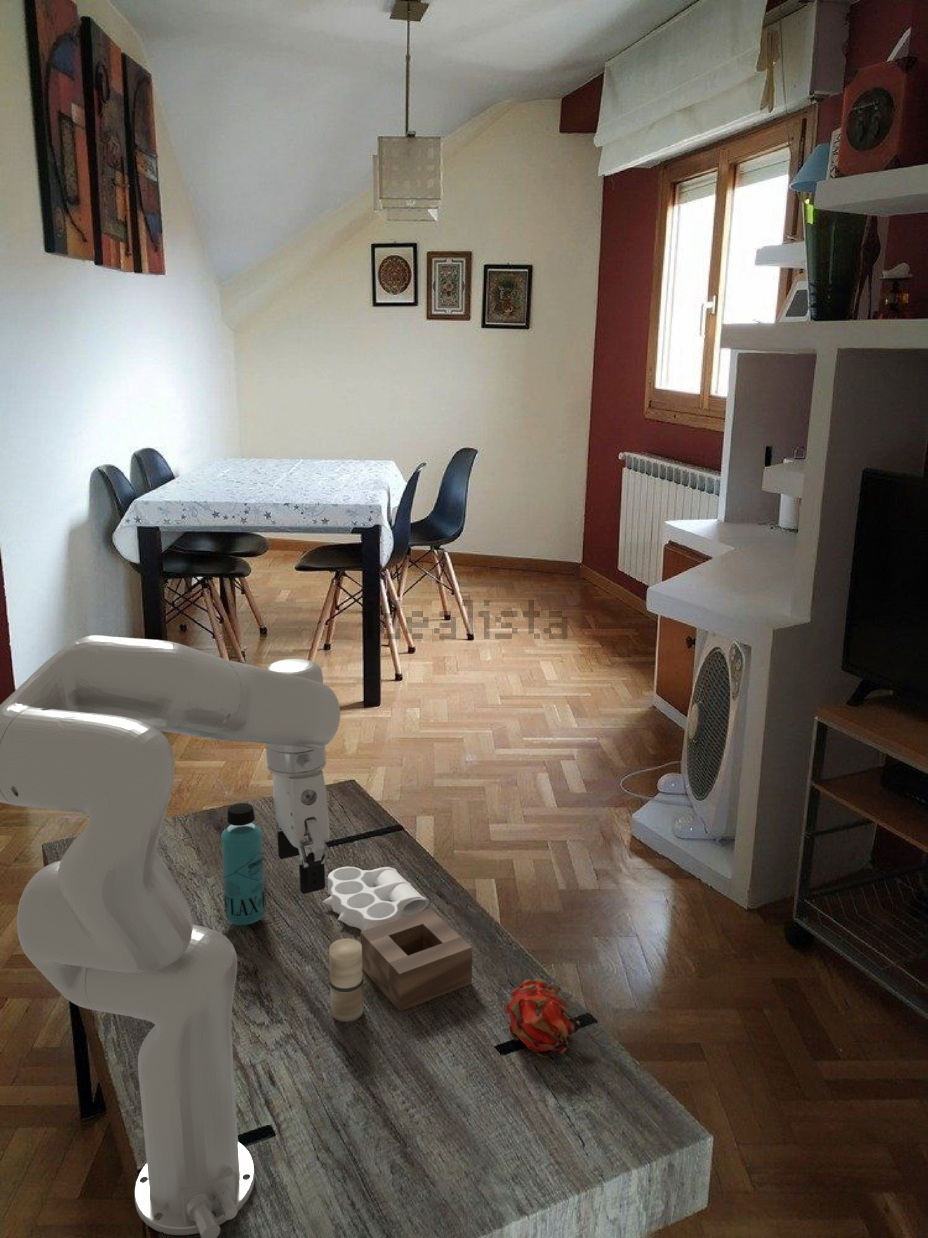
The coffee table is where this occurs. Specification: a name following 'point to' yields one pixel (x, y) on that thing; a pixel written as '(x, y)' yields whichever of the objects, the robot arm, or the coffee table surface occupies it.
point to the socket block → (416, 958)
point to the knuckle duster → (371, 896)
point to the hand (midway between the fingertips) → (301, 872)
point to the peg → (346, 979)
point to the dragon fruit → (540, 1017)
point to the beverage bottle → (243, 867)
